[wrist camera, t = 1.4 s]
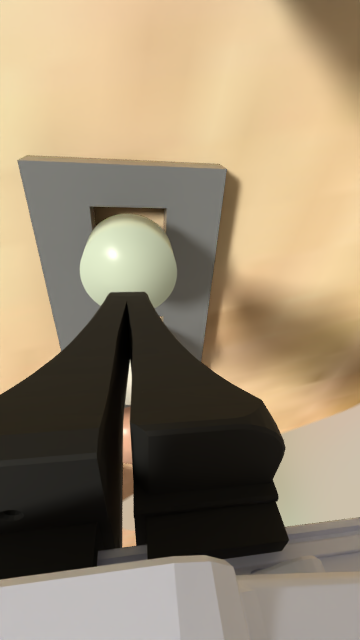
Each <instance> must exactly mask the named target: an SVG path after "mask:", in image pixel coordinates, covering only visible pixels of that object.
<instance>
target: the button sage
mask: <svg viewBox="0 0 360 640" xmlns="http://www.w3.org/2000/svg"><path fill="white" fill-rule="evenodd" d="M80 277H81V281H82V284H83V286H84V288H85V290H86V292H87V293H88V295H89V296H90V297H91V298H92V299H93V300H94V301H95V302H96V303H97V304H99V305H100V306H101V305H102V303H103V302H104V300H105V299H106V297H107V295H108V294H109V293H110V292H146V293H147V294H148V297H149V299H150V301H151V303H152V305H153V307H154V308H156V307H158V306H159V305H161V304H162V303H163V302H164V301H165V300H166V299H167V298H168V297H169V296H170V294H171V292H172V291H173V289H174V286H175V283H176V279H177V266H176V261H175V258H174V254H173V250H172V247H171V243H170V241H169V239H168V237H167V235H166V233H165V232H164V231H163V230H162V228H161V227H160V226H159V225H157V224H156V223H155V222H153V221H152V220H150V219H148V218H146V217H143V216H141V215H136V214H118V215H114V216H111V217H109V218H107V219H105V220H103V221H102V222H100V223H99V224H98V225H97V226H96V227H95V228H94V229H93V231H92V232H91V234H90V235H89V238H88V240H87V243H86V246H85V249H84V252H83V255H82V258H81V262H80Z"/></svg>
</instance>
